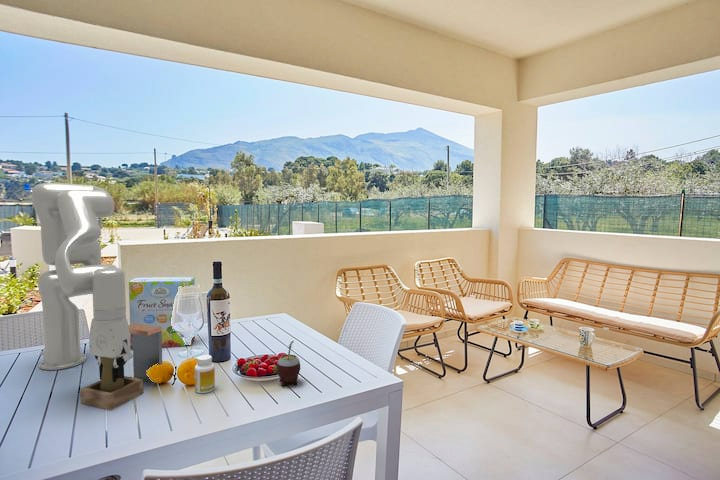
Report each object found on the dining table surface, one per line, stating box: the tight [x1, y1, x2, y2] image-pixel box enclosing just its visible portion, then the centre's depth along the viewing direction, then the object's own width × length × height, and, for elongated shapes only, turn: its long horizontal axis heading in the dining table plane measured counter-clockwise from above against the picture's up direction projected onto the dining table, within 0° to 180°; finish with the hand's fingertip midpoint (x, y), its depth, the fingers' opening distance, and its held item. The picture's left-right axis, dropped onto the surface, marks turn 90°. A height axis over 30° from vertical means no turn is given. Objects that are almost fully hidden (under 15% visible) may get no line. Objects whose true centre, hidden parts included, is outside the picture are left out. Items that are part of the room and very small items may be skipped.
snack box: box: [128, 276, 196, 350], centre depth 153 cm, size 22×9×26 cm, turn 104°
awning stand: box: [128, 323, 163, 384], centre depth 120 cm, size 10×5×17 cm, turn 72°
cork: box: [100, 357, 125, 393], centre depth 110 cm, size 6×6×11 cm
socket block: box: [79, 375, 144, 411], centre depth 111 cm, size 10×10×4 cm
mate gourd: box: [276, 340, 301, 388], centre depth 121 cm, size 8×8×15 cm
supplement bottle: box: [194, 354, 216, 394], centre depth 117 cm, size 5×5×10 cm
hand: (112, 378), depth 111 cm, fingers closed on cork, 3 cm apart
